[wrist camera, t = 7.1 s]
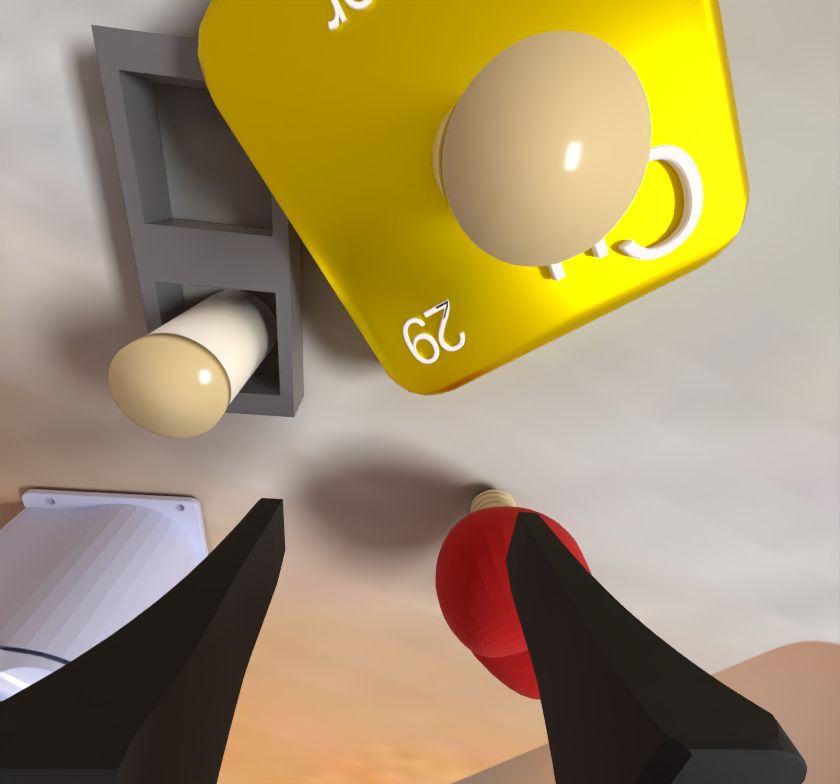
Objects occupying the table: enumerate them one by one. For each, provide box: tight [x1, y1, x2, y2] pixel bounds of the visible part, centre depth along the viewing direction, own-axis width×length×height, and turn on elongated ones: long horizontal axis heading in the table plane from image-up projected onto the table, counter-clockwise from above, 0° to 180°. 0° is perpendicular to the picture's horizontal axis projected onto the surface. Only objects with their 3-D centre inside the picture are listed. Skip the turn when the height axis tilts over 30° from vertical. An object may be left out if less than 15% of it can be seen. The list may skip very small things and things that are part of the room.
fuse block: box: [91, 25, 304, 417], centre depth 18 cm, size 6×14×2 cm, turn 174°
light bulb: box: [436, 489, 591, 700], centre depth 21 cm, size 9×7×10 cm
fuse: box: [108, 289, 277, 438], centre depth 17 cm, size 4×4×7 cm
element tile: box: [198, 0, 749, 396], centre depth 16 cm, size 15×15×5 cm
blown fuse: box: [432, 31, 652, 267], centre depth 11 cm, size 4×4×7 cm
